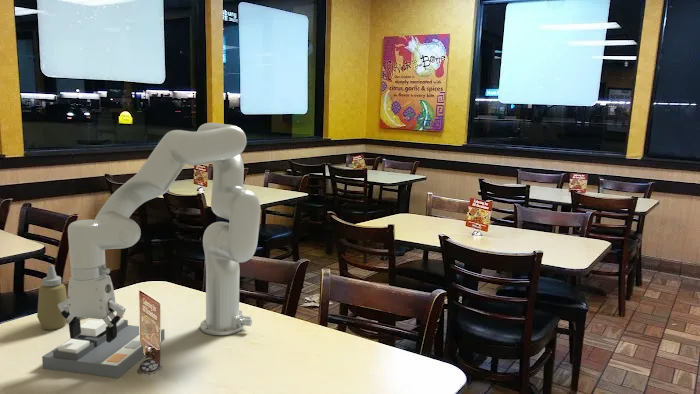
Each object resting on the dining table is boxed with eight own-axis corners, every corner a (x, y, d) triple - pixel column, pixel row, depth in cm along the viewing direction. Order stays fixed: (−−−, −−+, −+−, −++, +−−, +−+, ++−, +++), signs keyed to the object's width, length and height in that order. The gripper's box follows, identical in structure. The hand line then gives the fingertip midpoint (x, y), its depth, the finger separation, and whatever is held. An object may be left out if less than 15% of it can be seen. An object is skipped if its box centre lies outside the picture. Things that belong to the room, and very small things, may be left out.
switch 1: (89, 348, 134) (89, 340, 133) (76, 357, 129) (76, 349, 128) (71, 346, 134) (71, 338, 134) (57, 355, 129) (57, 347, 129)
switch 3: (124, 325, 148) (123, 318, 148) (113, 332, 143) (113, 325, 143) (107, 323, 149) (107, 316, 149) (96, 330, 144) (96, 323, 144)
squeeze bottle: (56, 333, 148) (53, 271, 145) (31, 330, 150) (27, 268, 147) (76, 322, 156) (73, 263, 153) (52, 319, 158) (49, 260, 155)
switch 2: (107, 328, 140) (107, 321, 140) (95, 336, 136) (95, 329, 135) (90, 326, 141) (90, 319, 141) (77, 334, 136) (77, 327, 136)
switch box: (164, 339, 148) (164, 323, 147) (118, 378, 127) (117, 360, 126) (98, 331, 151) (98, 316, 150) (42, 368, 130) (41, 350, 129)
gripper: (130, 269, 130) (134, 334, 133) (66, 264, 132) (71, 328, 136) (112, 279, 122) (117, 348, 126) (45, 273, 125) (51, 341, 128)
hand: (93, 338), depth 131 cm, fingers open, 9 cm apart
